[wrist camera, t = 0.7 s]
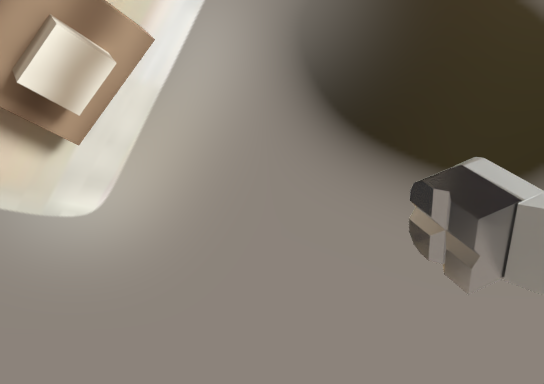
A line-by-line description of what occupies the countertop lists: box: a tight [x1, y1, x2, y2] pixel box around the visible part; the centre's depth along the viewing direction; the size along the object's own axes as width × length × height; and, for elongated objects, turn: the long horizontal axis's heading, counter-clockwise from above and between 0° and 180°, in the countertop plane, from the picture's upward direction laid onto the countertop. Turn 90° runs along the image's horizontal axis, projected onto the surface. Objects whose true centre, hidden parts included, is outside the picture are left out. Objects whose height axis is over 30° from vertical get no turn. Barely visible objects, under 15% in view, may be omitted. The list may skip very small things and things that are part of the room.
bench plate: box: [0, 0, 155, 145], centre depth 40 cm, size 11×11×3 cm
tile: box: [12, 14, 117, 116], centre depth 38 cm, size 5×5×2 cm
